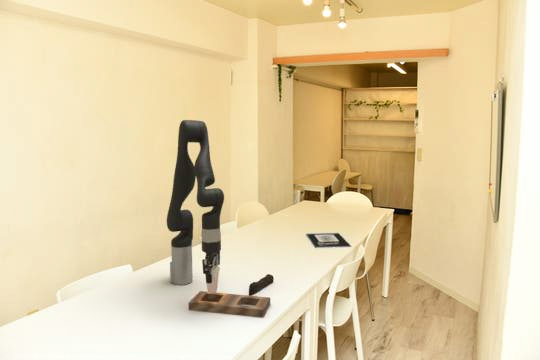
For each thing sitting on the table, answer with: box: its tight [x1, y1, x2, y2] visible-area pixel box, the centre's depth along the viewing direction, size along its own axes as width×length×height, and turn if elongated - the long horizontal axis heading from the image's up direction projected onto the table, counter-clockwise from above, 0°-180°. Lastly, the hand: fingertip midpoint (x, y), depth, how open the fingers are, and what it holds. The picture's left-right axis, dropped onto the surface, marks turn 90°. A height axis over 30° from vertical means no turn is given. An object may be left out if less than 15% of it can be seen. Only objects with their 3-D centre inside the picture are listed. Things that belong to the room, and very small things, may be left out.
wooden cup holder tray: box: [188, 290, 271, 318], centre depth 176 cm, size 30×12×3 cm, turn 77°
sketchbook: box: [305, 232, 352, 249], centre depth 275 cm, size 22×30×2 cm
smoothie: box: [204, 265, 221, 293], centre depth 176 cm, size 6×6×14 cm
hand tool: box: [248, 273, 274, 296], centre depth 196 cm, size 19×4×5 cm, turn 149°
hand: (211, 279), depth 177 cm, fingers closed on smoothie, 6 cm apart
